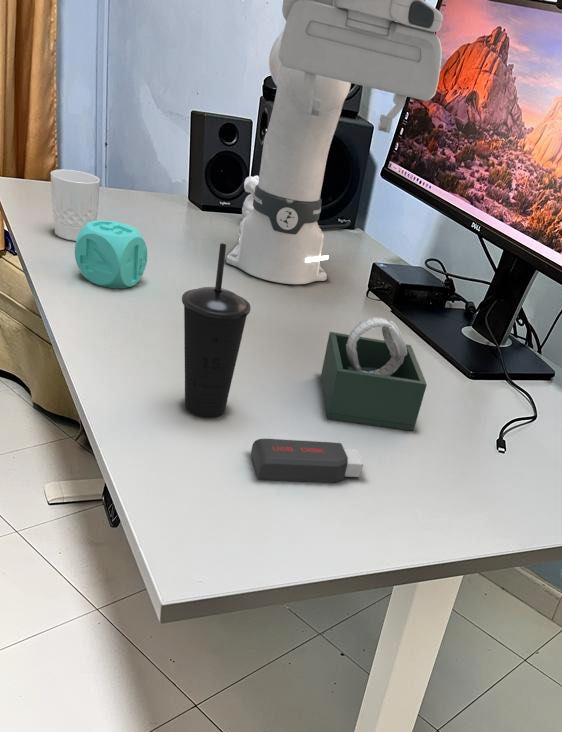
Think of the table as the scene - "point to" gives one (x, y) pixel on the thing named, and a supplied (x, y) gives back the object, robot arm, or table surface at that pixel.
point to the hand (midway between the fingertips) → (348, 123)
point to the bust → (249, 187)
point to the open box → (371, 385)
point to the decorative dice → (111, 254)
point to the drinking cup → (211, 344)
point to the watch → (392, 341)
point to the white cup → (73, 201)
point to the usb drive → (304, 461)
